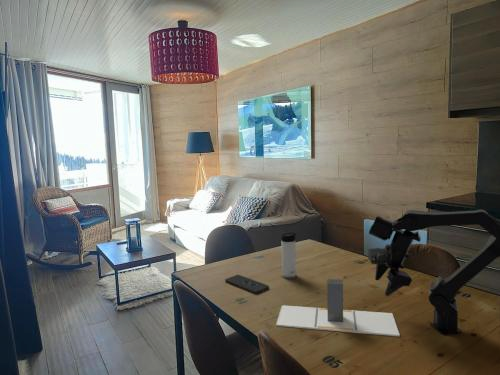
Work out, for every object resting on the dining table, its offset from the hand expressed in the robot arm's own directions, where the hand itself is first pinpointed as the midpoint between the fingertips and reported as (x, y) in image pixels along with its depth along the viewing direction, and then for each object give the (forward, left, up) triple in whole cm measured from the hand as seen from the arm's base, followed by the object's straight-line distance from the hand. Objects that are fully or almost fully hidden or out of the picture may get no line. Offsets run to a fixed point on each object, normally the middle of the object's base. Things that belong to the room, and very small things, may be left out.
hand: (381, 287), depth 117 cm
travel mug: (+43, +20, -11) cm, 49 cm away
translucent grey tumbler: (+1, +16, -10) cm, 19 cm away
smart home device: (+38, +40, -11) cm, 57 cm away
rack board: (+1, +16, -10) cm, 19 cm away
